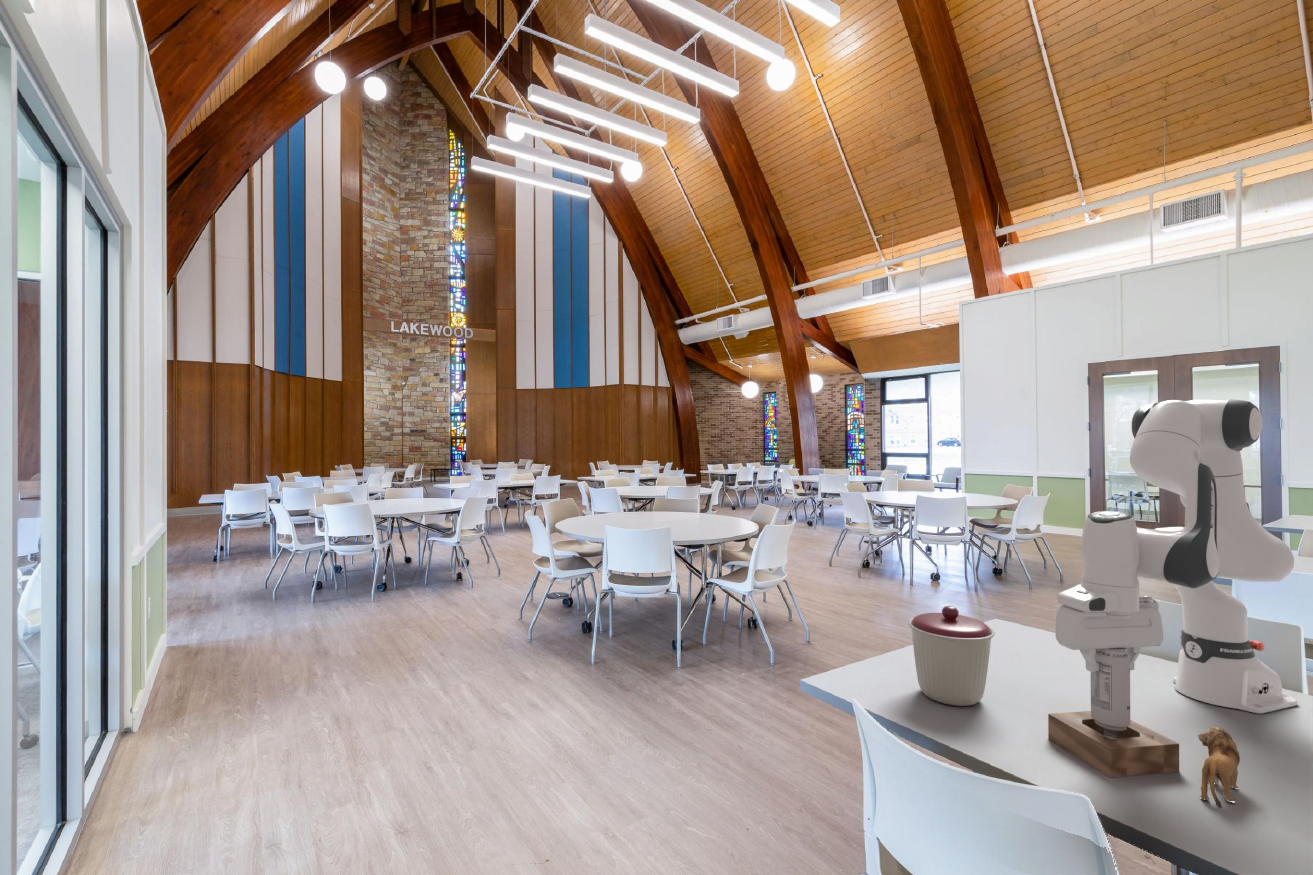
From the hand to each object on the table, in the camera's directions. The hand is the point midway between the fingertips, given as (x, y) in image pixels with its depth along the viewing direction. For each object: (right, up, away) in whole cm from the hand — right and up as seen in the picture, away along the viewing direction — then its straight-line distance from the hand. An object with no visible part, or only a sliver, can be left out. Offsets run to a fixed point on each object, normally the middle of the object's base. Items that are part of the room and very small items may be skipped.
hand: (1109, 670), depth 114 cm
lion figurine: (+9, -16, -12) cm, 22 cm away
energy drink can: (0, -11, 0) cm, 11 cm away
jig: (0, -16, 0) cm, 16 cm away
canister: (-18, -16, +26) cm, 35 cm away
